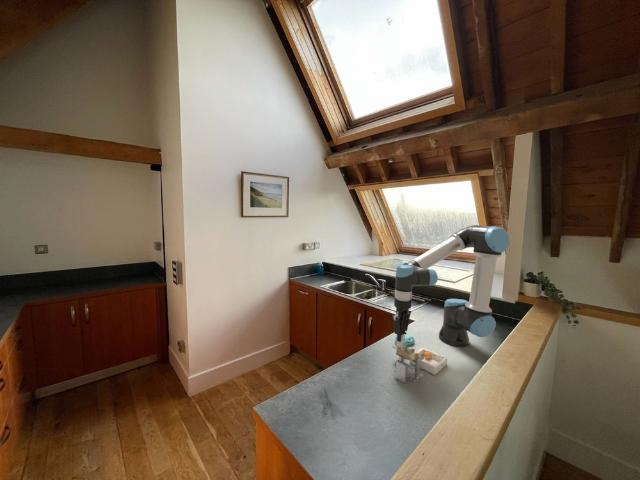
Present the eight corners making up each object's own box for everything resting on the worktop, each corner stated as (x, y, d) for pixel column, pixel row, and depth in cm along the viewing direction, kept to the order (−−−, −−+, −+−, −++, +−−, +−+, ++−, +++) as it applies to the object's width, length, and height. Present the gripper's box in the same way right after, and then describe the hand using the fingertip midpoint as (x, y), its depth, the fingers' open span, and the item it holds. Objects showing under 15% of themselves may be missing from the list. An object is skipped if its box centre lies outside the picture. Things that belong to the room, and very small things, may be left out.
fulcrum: (403, 365, 121) (404, 348, 120) (423, 375, 114) (424, 357, 113) (389, 375, 114) (390, 356, 113) (410, 386, 107) (411, 366, 106)
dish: (422, 354, 131) (422, 347, 131) (446, 365, 123) (447, 357, 122) (409, 363, 124) (410, 355, 123) (435, 375, 115) (435, 367, 114)
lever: (396, 347, 127) (398, 342, 128) (423, 359, 117) (424, 353, 118) (380, 346, 118) (381, 341, 118) (407, 360, 108) (409, 353, 108)
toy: (416, 335, 145) (410, 342, 133) (415, 343, 145) (409, 352, 133) (399, 330, 151) (391, 337, 138) (398, 338, 151) (390, 346, 138)
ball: (422, 355, 126) (423, 358, 128) (428, 357, 124) (430, 361, 125) (425, 349, 127) (426, 353, 129) (431, 352, 125) (432, 355, 127)
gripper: (403, 293, 128) (400, 339, 131) (387, 299, 120) (385, 348, 122) (417, 298, 123) (414, 345, 125) (402, 304, 114) (399, 355, 117)
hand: (399, 347), depth 124 cm, fingers closed
